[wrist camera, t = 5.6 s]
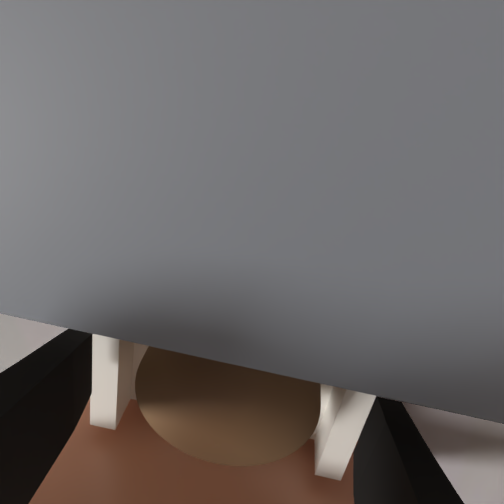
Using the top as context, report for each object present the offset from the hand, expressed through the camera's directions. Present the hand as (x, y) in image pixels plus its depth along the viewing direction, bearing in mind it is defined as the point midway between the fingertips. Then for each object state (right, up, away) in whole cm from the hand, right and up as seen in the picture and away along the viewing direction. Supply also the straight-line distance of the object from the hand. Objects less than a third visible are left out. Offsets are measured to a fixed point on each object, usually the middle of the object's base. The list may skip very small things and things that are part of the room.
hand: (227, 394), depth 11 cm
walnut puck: (0, +1, +2) cm, 2 cm away
